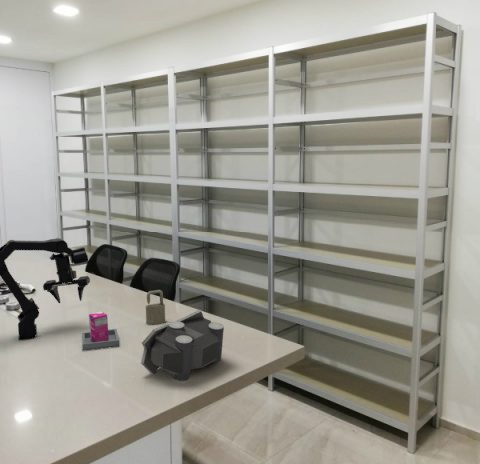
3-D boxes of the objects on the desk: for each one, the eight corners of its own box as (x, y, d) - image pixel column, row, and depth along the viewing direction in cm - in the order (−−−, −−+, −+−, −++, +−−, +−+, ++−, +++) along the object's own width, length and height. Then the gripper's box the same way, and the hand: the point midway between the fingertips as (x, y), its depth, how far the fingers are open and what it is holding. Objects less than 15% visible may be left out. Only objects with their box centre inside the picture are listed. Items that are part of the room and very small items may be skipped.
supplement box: (90, 340, 206) (88, 313, 204) (103, 337, 210) (102, 310, 208) (95, 344, 201) (93, 317, 200) (109, 341, 205) (108, 314, 203)
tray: (82, 350, 197) (82, 344, 197) (82, 338, 210) (81, 332, 210) (119, 346, 201) (119, 340, 201) (116, 334, 214) (116, 328, 214)
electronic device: (132, 371, 177) (191, 343, 200) (174, 396, 165) (232, 363, 188) (133, 324, 172) (194, 301, 195) (177, 346, 160) (236, 319, 183)
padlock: (145, 322, 229) (144, 290, 227) (163, 320, 233) (162, 288, 230) (148, 325, 226) (146, 292, 223) (165, 322, 229) (164, 290, 227)
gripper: (90, 260, 225) (96, 293, 228) (48, 264, 225) (54, 298, 228) (83, 267, 214) (89, 301, 218) (39, 272, 214) (46, 306, 217)
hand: (70, 301), depth 220 cm, fingers open, 9 cm apart
